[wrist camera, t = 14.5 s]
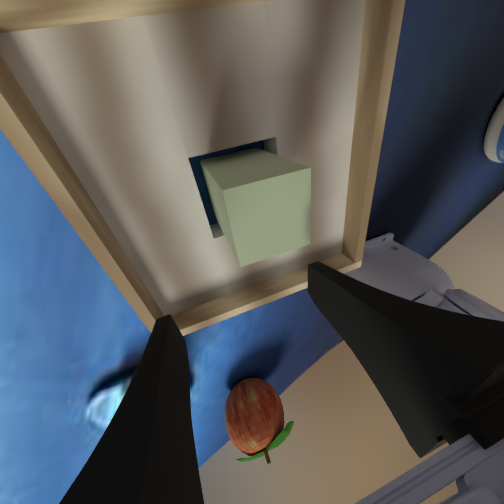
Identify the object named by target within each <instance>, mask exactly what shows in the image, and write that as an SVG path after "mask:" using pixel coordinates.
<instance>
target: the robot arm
mask: <svg viewBox="0 0 504 504" xmlns="http://www.w3.org/2000/svg"><path fill="white" fill-rule="evenodd" d="M393 237H394V234H392V233H387V234H385V235H382V236H379V237H376V238H374V239H371V240H368V241H365V246H364V252H363V258H362V264H361V267H359V268H357V269H354V270H351V271H349V272H346V273H344V274H343V273H341V272H339V271H337V270H335V269H333V268H331V267H329V266H327V265H325V264H323V263H321V262H319V261H316V262H314V263H311V264H308V293H309V295H310V297H311V298H312V300H313V301H314V303H315V305H316V306H317V308H318V309H319V310H320V311H321V313H322V314H323V315H324V316H325V318H326V319H327V320H328V321H329V322H330V324H331V325H332V326H333V327H334V329H335V330H336V331H337V332H338V333H339V335H340V336H341V337H342V338H343V339H344V341H345V342H346V343H347V344H348V346H349V347H350V348H351V350H352V351H353V353H354V354H355V356H356V357H357V359H358V360H359V361H360V363H361V364H362V366H363V367H364V369H365V370H366V372H367V374H368V375H369V377H370V378H371V380H372V381H373V383H374V384H375V386H376V388H377V389H378V391H379V392H380V394H381V395H382V397H383V399H384V401H385V402H386V404H387V406H388V407H389V408H390V411H391V412H392V414H393V416H394V418H395V419H396V421H397V423H398V424H399V426H400V428H401V430H402V431H403V433H404V435H405V437H406V438H407V440H408V442H409V444H410V446H411V447H412V448H413V450H414V451H415V452H416V454H417V455H418V456H419V457H420V458H422V457H423V456H425V455H427V454H428V453H430V452H431V451H433V450H435V449H436V448H438V447H440V446H441V445H443V444H445V443H446V442H448V443H449V446H448V447H446V448H445V449H443V450H441V451H440V452H438V453H437V454H435V455H433V456H432V457H430V458H428V459H427V460H425V461H423V462H422V463H420V464H418V465H417V466H415V467H414V468H412V469H410V470H409V471H407V472H405V473H404V474H403V475H401V476H399V477H397V478H396V479H395V480H392V481H391V482H389V483H388V484H386V485H384V486H383V487H381V488H379V489H378V490H376V491H374V492H373V493H371V494H370V495H368V496H366V497H365V498H363V499H361V500H360V501H358V502H357V503H355V504H420V503H421V502H423V501H424V500H426V499H427V498H429V497H430V496H432V495H433V494H435V493H436V492H438V491H440V490H441V489H442V488H444V487H446V486H447V485H449V484H450V483H452V482H453V481H455V480H456V485H457V488H458V493H457V494H455V495H453V496H451V497H449V498H447V499H445V500H444V501H442V502H440V503H439V504H504V312H502V311H500V310H499V309H497V308H495V307H493V306H491V305H490V304H488V303H486V302H484V301H483V300H481V299H479V298H477V297H475V296H473V295H472V294H469V293H468V292H466V291H464V290H461V289H454V286H453V283H452V281H451V279H450V277H449V276H448V275H447V273H446V272H445V271H444V270H443V269H442V268H440V267H439V266H438V265H437V264H435V263H433V262H431V261H430V260H428V259H426V258H424V257H422V256H421V255H419V254H417V253H415V252H413V251H412V250H410V249H408V248H406V247H404V246H402V245H401V244H399V243H397V242H395V241H393ZM59 504H204V500H203V494H202V488H201V482H200V477H199V470H198V463H197V456H196V450H195V443H194V435H193V428H192V419H191V404H190V382H189V362H188V354H187V348H186V343H185V339H184V337H183V335H182V333H181V332H180V330H179V328H178V326H177V325H176V323H175V321H174V320H173V318H172V316H171V314H169V315H166V316H163V317H160V318H158V319H157V320H156V321H155V324H154V327H153V330H152V333H151V335H150V338H149V341H148V343H147V346H146V348H145V351H144V353H143V356H142V358H141V360H140V363H139V365H138V368H137V370H136V372H135V374H134V376H133V378H132V381H131V383H130V385H129V387H128V389H127V391H126V393H125V395H124V397H123V399H122V401H121V403H120V405H119V407H118V409H117V411H116V413H115V414H114V416H113V418H112V420H111V422H110V424H109V425H108V427H107V429H106V431H105V432H104V434H103V436H102V437H101V439H100V441H99V442H98V444H97V446H96V448H95V449H94V451H93V452H92V454H91V456H90V457H89V459H88V461H87V462H86V464H85V465H84V467H83V468H82V470H81V471H80V473H79V474H78V476H77V477H76V479H75V481H74V482H73V484H72V485H71V487H70V488H69V490H68V491H67V493H66V494H65V496H64V497H63V499H62V500H61V502H60V503H59Z"/></svg>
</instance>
